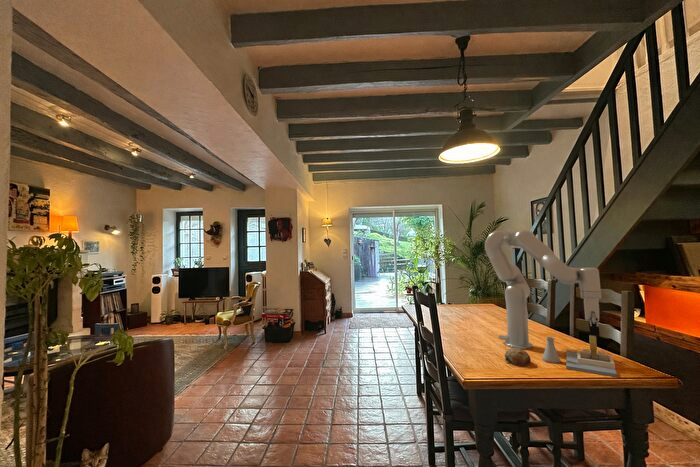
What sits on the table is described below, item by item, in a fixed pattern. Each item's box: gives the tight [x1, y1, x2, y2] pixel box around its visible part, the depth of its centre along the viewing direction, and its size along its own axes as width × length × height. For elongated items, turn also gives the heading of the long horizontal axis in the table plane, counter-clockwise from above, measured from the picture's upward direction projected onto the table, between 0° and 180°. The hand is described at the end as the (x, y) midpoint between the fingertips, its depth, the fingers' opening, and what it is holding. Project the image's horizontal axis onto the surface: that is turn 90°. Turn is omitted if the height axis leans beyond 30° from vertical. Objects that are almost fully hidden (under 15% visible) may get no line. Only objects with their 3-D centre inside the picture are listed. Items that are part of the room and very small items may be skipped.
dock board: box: [565, 348, 618, 378], centre depth 135 cm, size 16×24×4 cm, turn 145°
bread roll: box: [504, 347, 532, 367], centre depth 138 cm, size 10×10×8 cm
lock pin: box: [588, 334, 598, 361], centre depth 138 cm, size 2×14×8 cm, turn 145°
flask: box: [541, 336, 562, 364], centre depth 140 cm, size 7×7×10 cm
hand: (594, 333), depth 143 cm, fingers open, 9 cm apart
